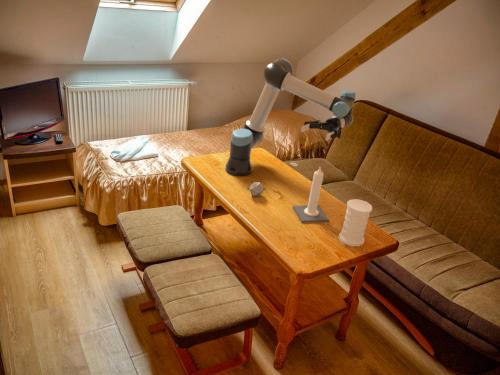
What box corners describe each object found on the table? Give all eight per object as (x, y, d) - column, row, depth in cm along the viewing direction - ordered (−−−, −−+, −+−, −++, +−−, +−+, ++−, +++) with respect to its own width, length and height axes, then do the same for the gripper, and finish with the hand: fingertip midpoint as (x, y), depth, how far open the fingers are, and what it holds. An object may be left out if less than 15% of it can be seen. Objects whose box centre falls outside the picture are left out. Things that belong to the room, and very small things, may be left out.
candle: (320, 216, 213) (330, 170, 202) (307, 216, 211) (316, 170, 200) (315, 208, 219) (324, 163, 208) (301, 209, 217) (310, 163, 206)
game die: (257, 203, 228) (263, 195, 219) (243, 195, 227) (248, 187, 219) (264, 190, 232) (270, 182, 223) (250, 182, 232) (255, 174, 223)
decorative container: (334, 239, 198) (342, 205, 190) (344, 229, 207) (352, 196, 199) (358, 249, 193) (367, 215, 185) (367, 238, 202) (376, 205, 193)
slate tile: (292, 207, 220) (292, 205, 220) (318, 207, 224) (318, 205, 223) (301, 222, 208) (301, 220, 208) (328, 221, 212) (329, 219, 211)
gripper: (355, 138, 220) (335, 148, 204) (312, 124, 232) (291, 133, 216) (358, 124, 216) (339, 133, 200) (314, 110, 228) (293, 118, 213)
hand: (314, 133), depth 208 cm, fingers open, 13 cm apart
